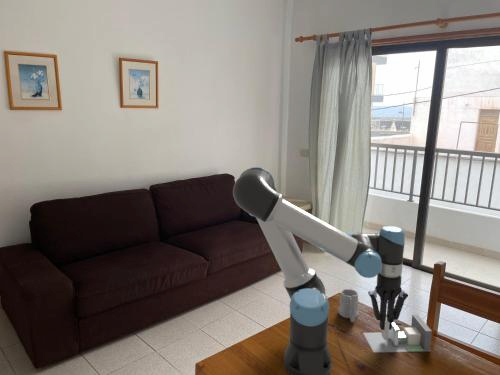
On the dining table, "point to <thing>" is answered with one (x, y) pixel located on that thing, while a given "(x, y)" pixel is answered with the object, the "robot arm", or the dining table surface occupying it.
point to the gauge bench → (387, 346)
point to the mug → (349, 304)
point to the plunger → (397, 335)
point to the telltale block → (412, 335)
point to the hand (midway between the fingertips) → (384, 337)
